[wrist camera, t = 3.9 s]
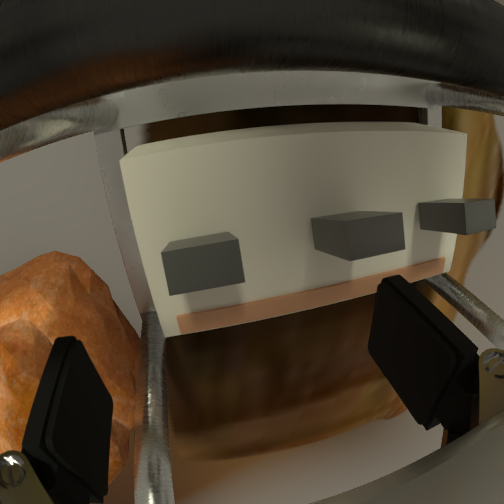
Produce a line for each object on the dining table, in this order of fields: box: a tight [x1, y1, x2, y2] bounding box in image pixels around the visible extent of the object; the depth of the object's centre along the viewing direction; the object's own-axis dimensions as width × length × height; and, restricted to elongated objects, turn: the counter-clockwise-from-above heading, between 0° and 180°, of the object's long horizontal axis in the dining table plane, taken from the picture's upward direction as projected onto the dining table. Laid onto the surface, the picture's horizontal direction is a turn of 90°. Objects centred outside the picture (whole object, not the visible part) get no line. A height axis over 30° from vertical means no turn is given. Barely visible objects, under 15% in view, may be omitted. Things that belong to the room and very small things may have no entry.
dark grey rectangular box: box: [311, 211, 405, 261], centre depth 14 cm, size 2×3×4 cm, turn 96°
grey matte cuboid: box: [418, 199, 496, 235], centre depth 15 cm, size 2×3×4 cm, turn 96°
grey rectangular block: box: [161, 232, 245, 296], centre depth 13 cm, size 2×3×4 cm, turn 96°
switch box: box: [119, 122, 467, 337], centre depth 19 cm, size 10×20×6 cm, turn 96°
